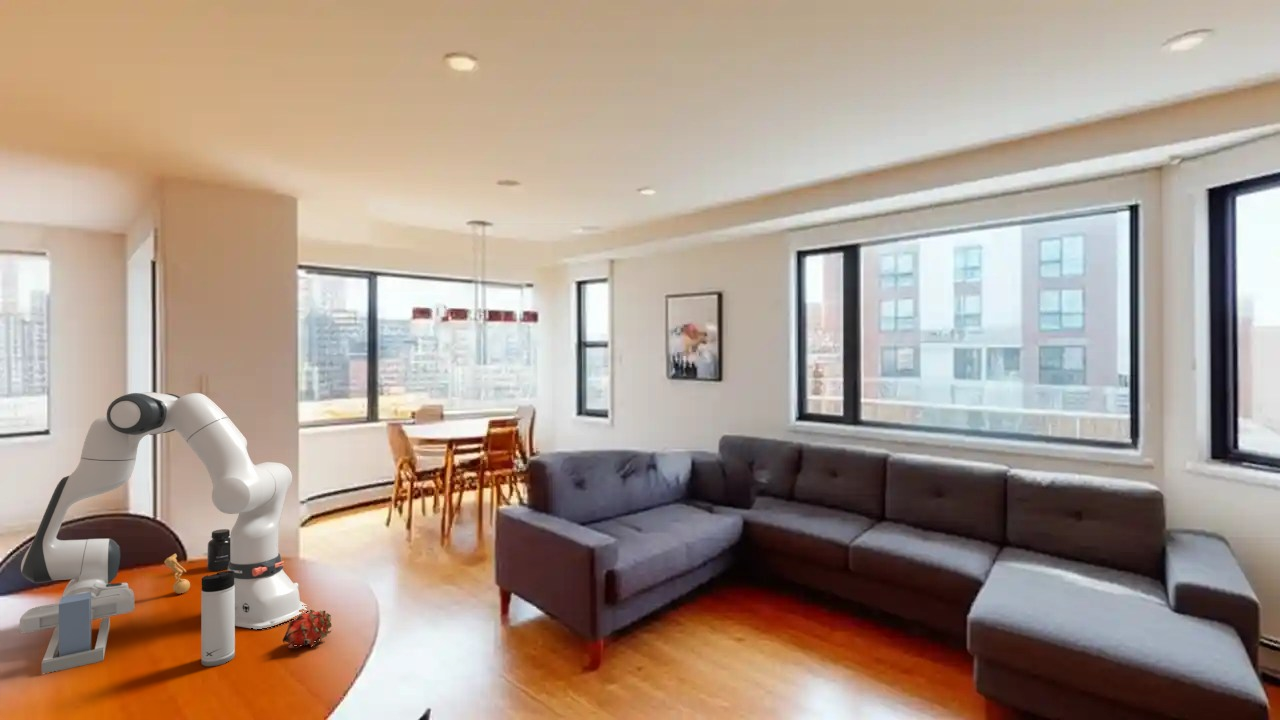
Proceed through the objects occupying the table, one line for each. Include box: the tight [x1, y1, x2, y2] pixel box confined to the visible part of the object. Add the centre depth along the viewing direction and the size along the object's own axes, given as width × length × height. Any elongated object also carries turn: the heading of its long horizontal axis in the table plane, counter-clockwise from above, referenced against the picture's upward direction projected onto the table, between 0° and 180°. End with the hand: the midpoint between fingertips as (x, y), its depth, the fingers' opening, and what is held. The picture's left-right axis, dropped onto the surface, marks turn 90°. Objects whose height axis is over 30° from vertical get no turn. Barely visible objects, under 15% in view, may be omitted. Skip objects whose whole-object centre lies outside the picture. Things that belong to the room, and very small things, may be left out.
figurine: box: [163, 553, 191, 595], centre depth 176 cm, size 8×6×12 cm
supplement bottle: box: [206, 528, 231, 572], centre depth 198 cm, size 7×7×12 cm
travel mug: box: [200, 570, 236, 667], centre depth 139 cm, size 6×7×20 cm
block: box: [58, 592, 92, 657], centre depth 139 cm, size 5×5×14 cm
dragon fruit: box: [282, 608, 332, 649], centre depth 147 cm, size 8×8×12 cm
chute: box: [41, 616, 111, 675], centre depth 144 cm, size 22×10×2 cm, turn 38°
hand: (76, 622), depth 141 cm, fingers closed, pressing on block
